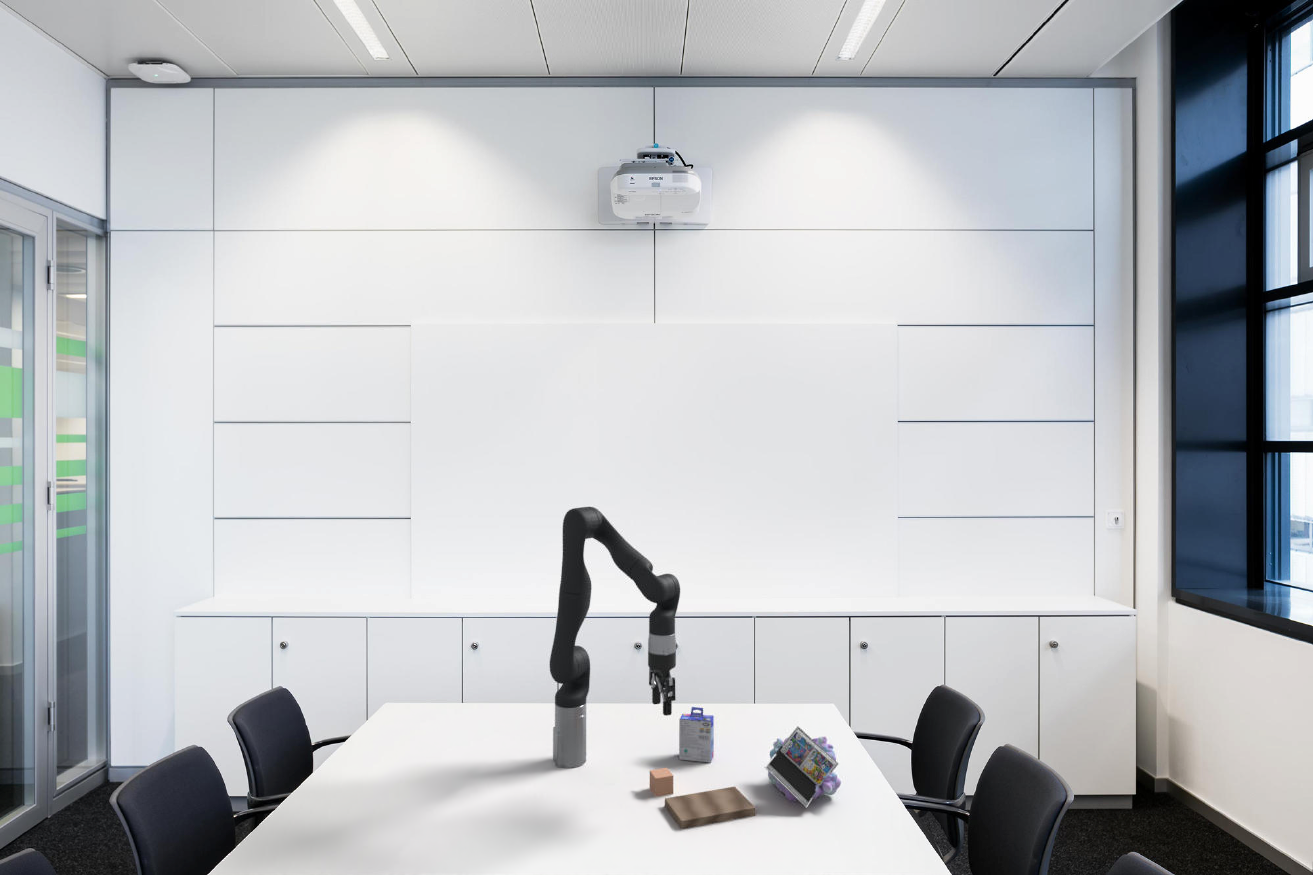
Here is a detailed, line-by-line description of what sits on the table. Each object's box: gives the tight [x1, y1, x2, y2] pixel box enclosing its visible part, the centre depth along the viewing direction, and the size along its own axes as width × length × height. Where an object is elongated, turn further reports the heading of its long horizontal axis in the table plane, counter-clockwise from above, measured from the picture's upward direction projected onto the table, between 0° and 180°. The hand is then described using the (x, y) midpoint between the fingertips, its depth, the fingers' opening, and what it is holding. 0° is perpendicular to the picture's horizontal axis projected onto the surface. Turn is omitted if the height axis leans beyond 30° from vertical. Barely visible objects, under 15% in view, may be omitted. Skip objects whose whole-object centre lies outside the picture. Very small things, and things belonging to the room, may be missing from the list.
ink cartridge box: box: [678, 706, 715, 763], centre depth 222 cm, size 10×6×14 cm, turn 78°
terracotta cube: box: [649, 767, 674, 798], centre depth 201 cm, size 5×5×5 cm
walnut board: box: [664, 786, 756, 830], centre depth 190 cm, size 20×12×2 cm, turn 110°
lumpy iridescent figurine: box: [764, 726, 842, 808], centre depth 201 cm, size 20×22×18 cm
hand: (661, 709), depth 201 cm, fingers open, 8 cm apart
